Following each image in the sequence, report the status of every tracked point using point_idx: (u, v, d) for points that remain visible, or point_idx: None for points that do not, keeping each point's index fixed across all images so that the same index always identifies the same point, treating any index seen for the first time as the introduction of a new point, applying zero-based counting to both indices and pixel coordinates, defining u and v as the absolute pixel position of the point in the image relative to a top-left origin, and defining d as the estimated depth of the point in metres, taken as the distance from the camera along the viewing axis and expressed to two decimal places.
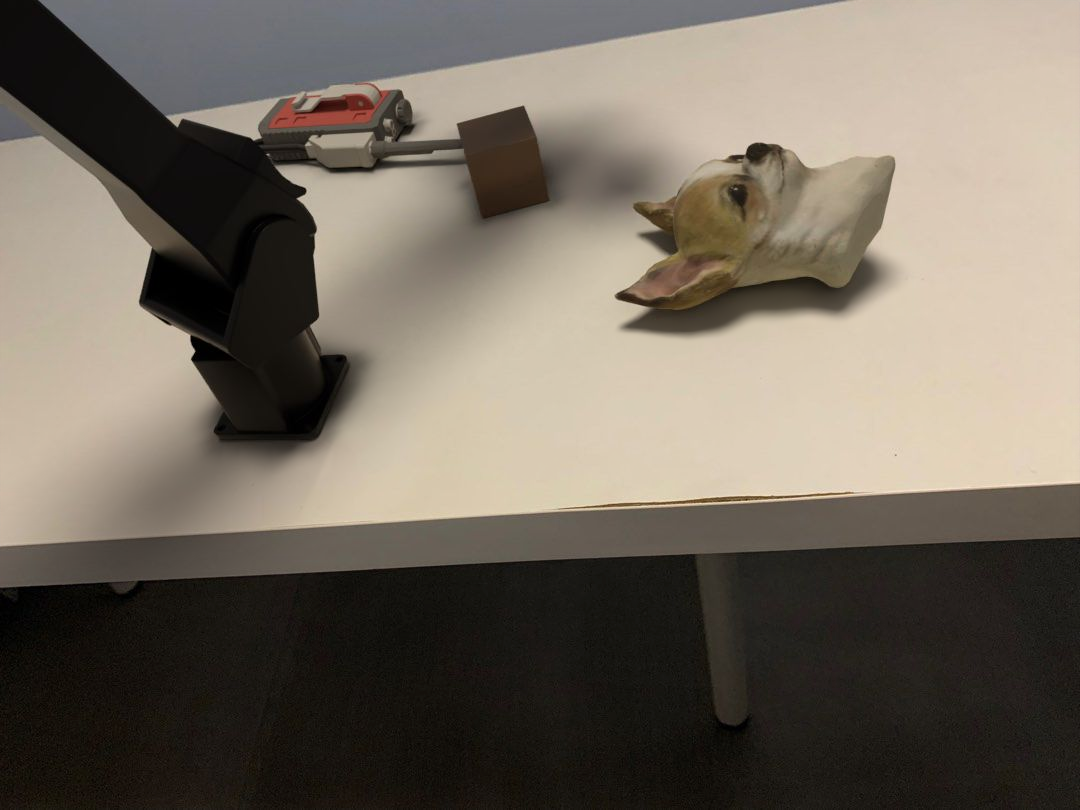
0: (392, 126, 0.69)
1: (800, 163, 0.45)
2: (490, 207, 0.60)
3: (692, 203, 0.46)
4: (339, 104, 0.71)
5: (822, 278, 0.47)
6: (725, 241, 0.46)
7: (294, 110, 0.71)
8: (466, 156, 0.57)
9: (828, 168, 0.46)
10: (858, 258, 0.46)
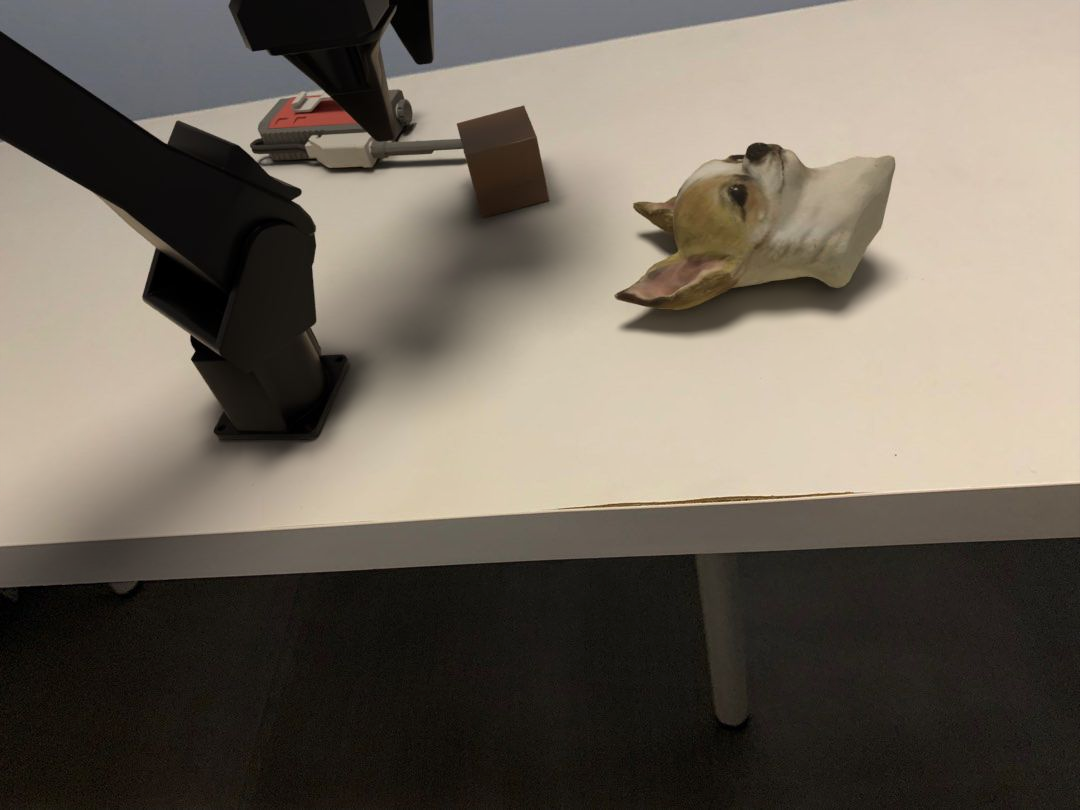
0: None
1: (800, 163, 0.45)
2: (490, 207, 0.60)
3: (692, 203, 0.46)
4: None
5: (822, 278, 0.47)
6: (725, 241, 0.46)
7: (294, 110, 0.71)
8: (466, 156, 0.57)
9: (828, 168, 0.46)
10: (858, 258, 0.46)
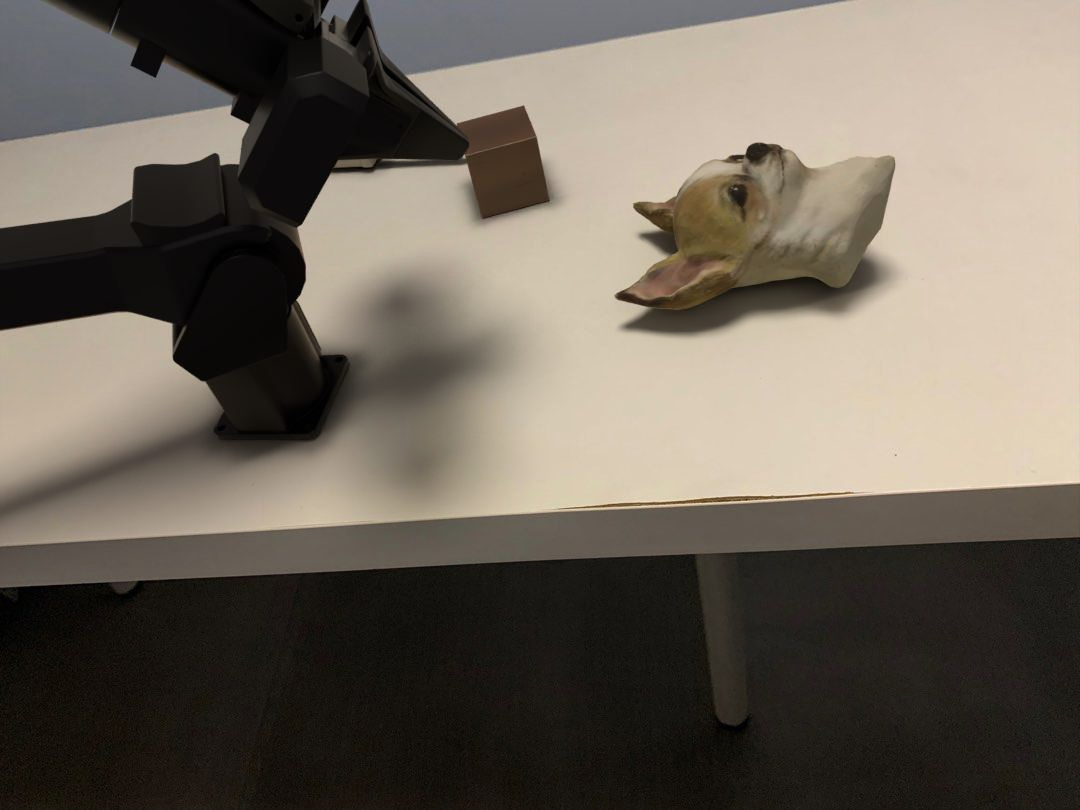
0: None
1: (800, 163, 0.45)
2: (490, 207, 0.60)
3: (692, 203, 0.46)
4: None
5: (822, 278, 0.47)
6: (725, 241, 0.46)
7: None
8: (466, 156, 0.57)
9: (828, 168, 0.46)
10: (858, 258, 0.46)
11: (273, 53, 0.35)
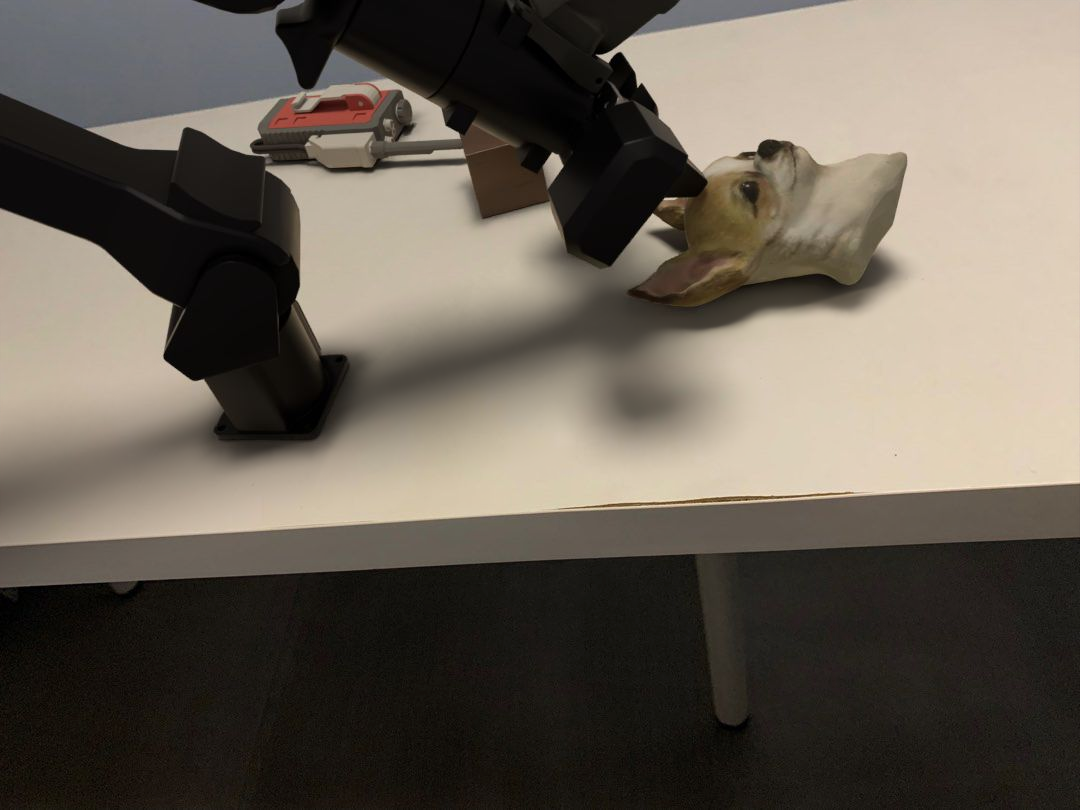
0: (392, 126, 0.69)
1: (812, 160, 0.45)
2: (490, 207, 0.60)
3: (704, 200, 0.46)
4: (339, 104, 0.71)
5: (833, 275, 0.47)
6: (737, 237, 0.46)
7: (294, 110, 0.71)
8: (466, 156, 0.57)
9: (840, 165, 0.46)
10: (869, 255, 0.46)
11: (570, 111, 0.39)
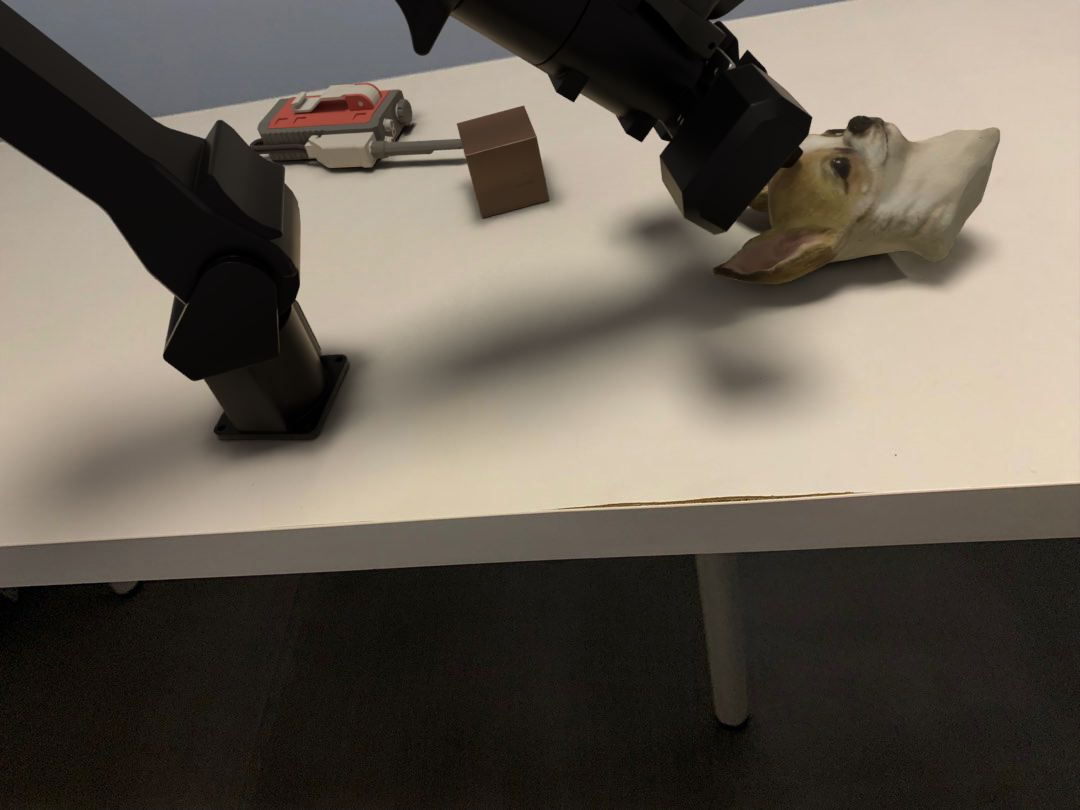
0: (392, 126, 0.69)
1: (902, 136, 0.45)
2: (490, 207, 0.60)
3: (792, 177, 0.46)
4: (339, 104, 0.71)
5: (921, 252, 0.47)
6: (827, 214, 0.46)
7: (294, 110, 0.71)
8: (466, 156, 0.57)
9: (929, 141, 0.46)
10: (958, 231, 0.46)
11: (680, 77, 0.39)
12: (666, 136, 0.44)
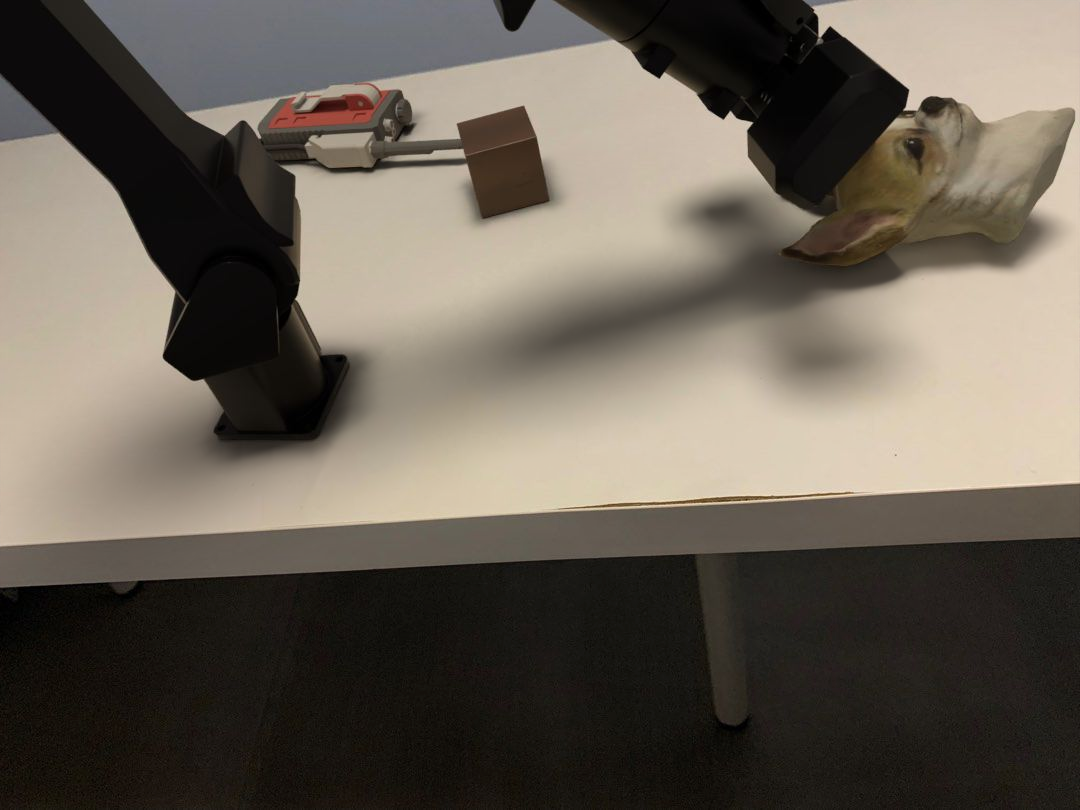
0: (392, 126, 0.69)
1: (975, 116, 0.45)
2: (490, 207, 0.60)
3: (864, 158, 0.46)
4: (339, 104, 0.71)
5: (992, 233, 0.47)
6: (899, 194, 0.46)
7: (294, 110, 0.71)
8: (466, 156, 0.57)
9: (1000, 122, 0.46)
10: (1029, 212, 0.46)
11: (766, 53, 0.39)
12: (742, 115, 0.44)
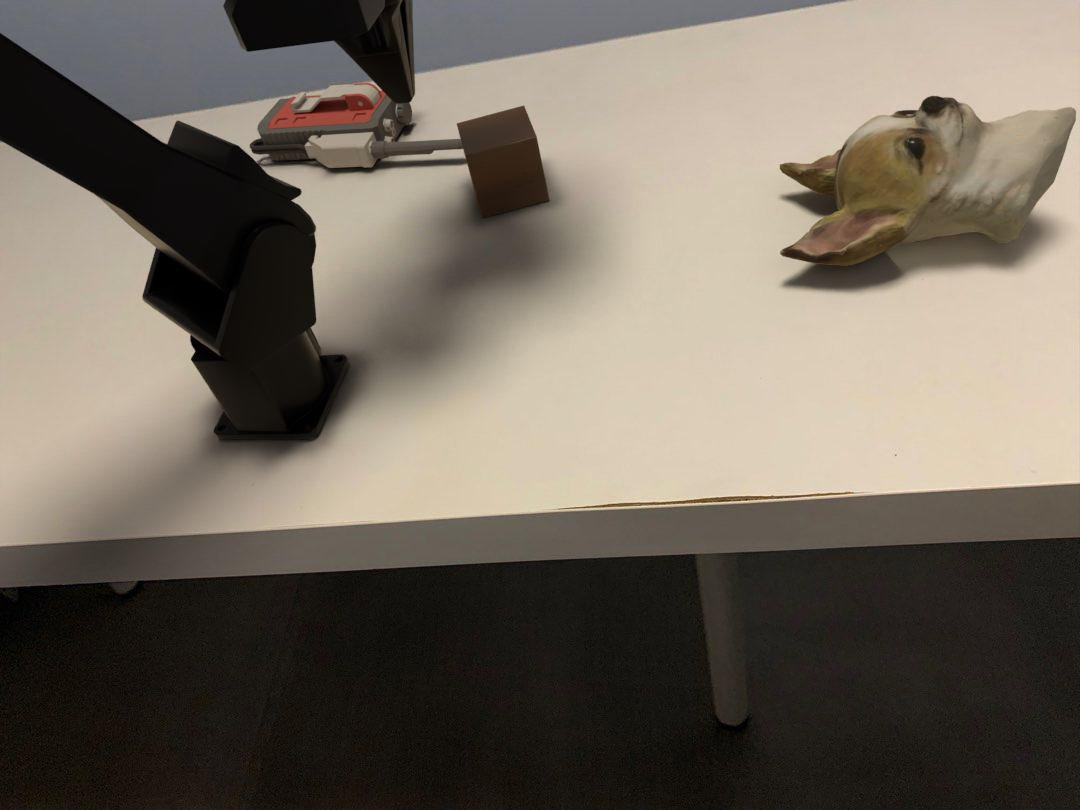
0: (392, 126, 0.69)
1: (976, 116, 0.45)
2: (490, 207, 0.60)
3: (865, 158, 0.46)
4: (339, 104, 0.71)
5: (993, 232, 0.47)
6: (900, 194, 0.46)
7: (294, 110, 0.71)
8: (466, 156, 0.57)
9: (1001, 122, 0.46)
10: (1029, 212, 0.46)
11: None
12: None
